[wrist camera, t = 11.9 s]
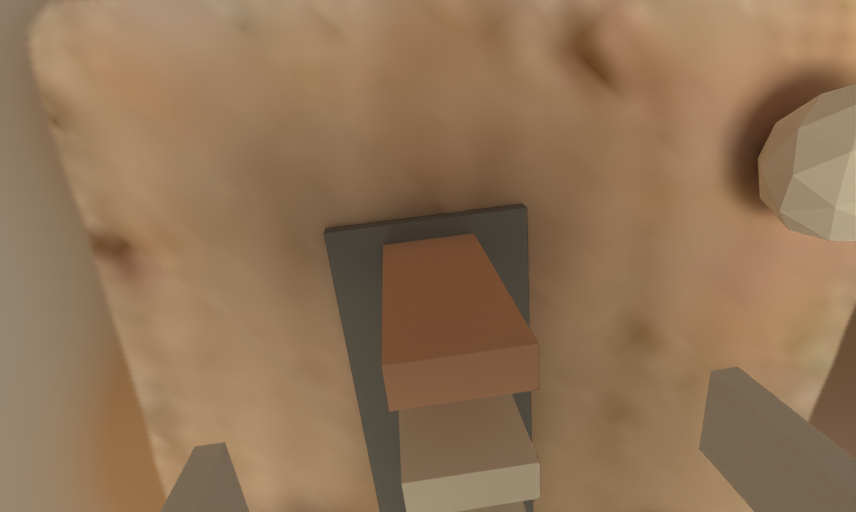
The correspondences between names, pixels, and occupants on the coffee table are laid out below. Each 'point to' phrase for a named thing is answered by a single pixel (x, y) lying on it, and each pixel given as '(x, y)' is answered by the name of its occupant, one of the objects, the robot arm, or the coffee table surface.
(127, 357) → the coffee table surface
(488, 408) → the domino
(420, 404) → the domino
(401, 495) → the mat
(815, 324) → the coffee table surface
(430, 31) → the coffee table surface
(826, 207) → the geometric ball
